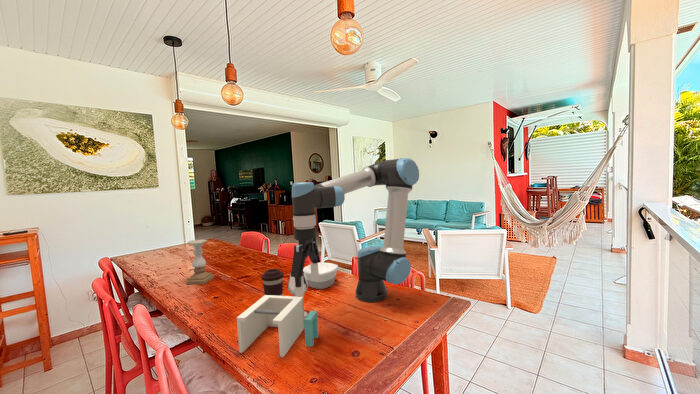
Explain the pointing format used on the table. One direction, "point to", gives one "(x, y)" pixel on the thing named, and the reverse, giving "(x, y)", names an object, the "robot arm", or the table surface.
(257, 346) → the table surface
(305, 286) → the wineglass
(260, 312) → the white c-frame
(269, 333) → the table surface
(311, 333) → the teal u-shaped bracket
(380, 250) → the robot arm
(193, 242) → the candle holder
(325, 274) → the bowl
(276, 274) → the coffee cup
